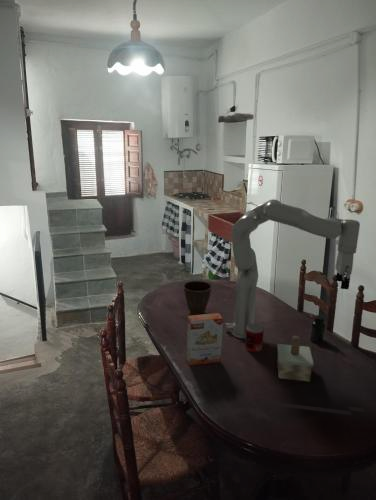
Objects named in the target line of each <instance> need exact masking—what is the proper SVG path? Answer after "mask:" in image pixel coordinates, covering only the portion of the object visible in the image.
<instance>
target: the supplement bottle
mask: <svg viewBox="0 0 376 500" xmlns="http://www.w3.org/2000/svg"><path fill="white" fill-rule="evenodd" d="M325 319H326V318H325V316H323V315H320V314H319V315H318V314H317V315H314V317H313V321H311V323H310V331H309V341H311V342H312V343H314V344H315V343H317V344H322V343H324V342H325V336H326V332H327V331H326V330H327V323H326V322H325V321H326V320H325Z"/></svg>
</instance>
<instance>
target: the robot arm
mask: <svg viewBox="0 0 376 500" xmlns="http://www.w3.org/2000/svg"><path fill="white" fill-rule="evenodd" d="M268 221H271V222H275V223H277V224H278V223H279V224H283V225H287V226H289V227H294V228H296V229H299V230H300V231H301V230H302V231H304V232H307V233H309V234H312V235H315V236H318V237H323V238H325V239H329V240H330V239H336V238H338V244H337V251H338V252H337V256H336V263H335V270H336V277H335V281H336V282H341V283H340V289H342V290H349V288H350V284H351V283H350V281H351V275H352V272H353V267H354V266H353V265H354V257H355V256H354V254H356V253H357V249H358V240H359V234H360V227H361V223H360V222H359V221H358V220H356V219H342V218H336V217H332V216H331V217H327V218H322V217H320V216H319V217H318V216H315V215H313V214H312V213H309V212H308V211H307V210H305V209H303V208H299V207H296V206H292V205H289V204H285V203H282V202H281V201H279V200H278V199H276V198H275V199H274V198H272V199H269V200H267V201H265V202H263V203H261V204H259V205H256V206H255V207H253V208H251V209H248V210H247V211H246V212H245V213H244V214H243V215H242V216H241V217H240V218H239V219H238V220H236V221H235V223H234V224H233V226H232V228H231V231H230V232H231V233H230V236H231V238H230V239H231V245H232V254H233V262H234V265H235V267H236V268H237V271H238V275H237V278H236V280H235V306H234V321H233V322H231V323H229V322H225V323H224V324H225V326H224V328H226V329H228V330H230V333H231V334H232V336H233V337H235V338H238V339H243V340H246V327H247V325H249V324H255V315H256V314H255V313H256V297H257V295H256V294H257V284H258V281H259V280H258V279H259V270H258V269H259V268H258V264H257V263H258V262H257V257H256V251H254V249H253V248H252V246H251V244H252V243H251V238H250V235H251V234H252V232H254V231H256V230H257V229H258V227H259V225H262V224H264V223H266V222H268Z"/></svg>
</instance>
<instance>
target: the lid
mask: <svg viewBox="0 0 376 500" xmlns="http://www.w3.org/2000/svg"><path fill="white" fill-rule="evenodd" d="M276 347H277V358H278V359H279V363H284V364H294V365H303V366H312V368H313V367H314V366H315V365H314V360H313V356H312V352H311V348H310V346H303V345H301V337H300V336H298V335H293V336H292V337H291V344H284V343H282V344H281V343H277V345H276Z"/></svg>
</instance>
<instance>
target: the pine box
mask: <svg viewBox="0 0 376 500" xmlns="http://www.w3.org/2000/svg"><path fill="white" fill-rule="evenodd" d="M276 366H277V372H278V373H277V374H278V379H284V380H293V381H294V380H295V381H299V382H300V381H303V382H311V375H312V368H313V367H312V366H303V365H294V364H284V363H279V359H278V357H277V359H276Z"/></svg>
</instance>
